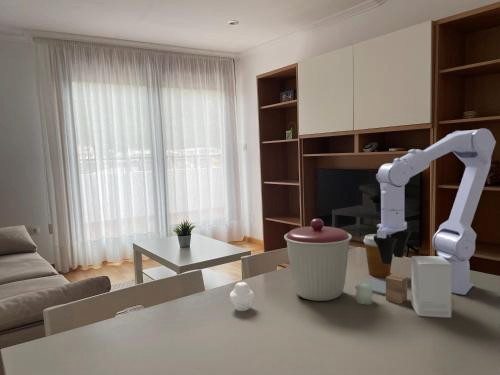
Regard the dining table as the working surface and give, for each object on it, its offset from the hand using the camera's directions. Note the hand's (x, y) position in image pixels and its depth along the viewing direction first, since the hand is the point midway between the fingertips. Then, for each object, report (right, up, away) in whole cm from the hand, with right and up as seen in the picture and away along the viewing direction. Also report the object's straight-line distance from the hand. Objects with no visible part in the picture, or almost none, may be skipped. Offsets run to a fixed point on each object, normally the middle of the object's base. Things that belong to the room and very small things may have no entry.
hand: (392, 260), depth 99 cm
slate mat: (-1, -9, +8) cm, 12 cm away
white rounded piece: (-40, -12, -4) cm, 42 cm away
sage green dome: (-8, -10, -2) cm, 13 cm away
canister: (-19, -11, +4) cm, 22 cm away
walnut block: (0, -10, -1) cm, 10 cm away
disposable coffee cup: (+3, -8, +19) cm, 21 cm away
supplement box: (+6, -11, -9) cm, 15 cm away
